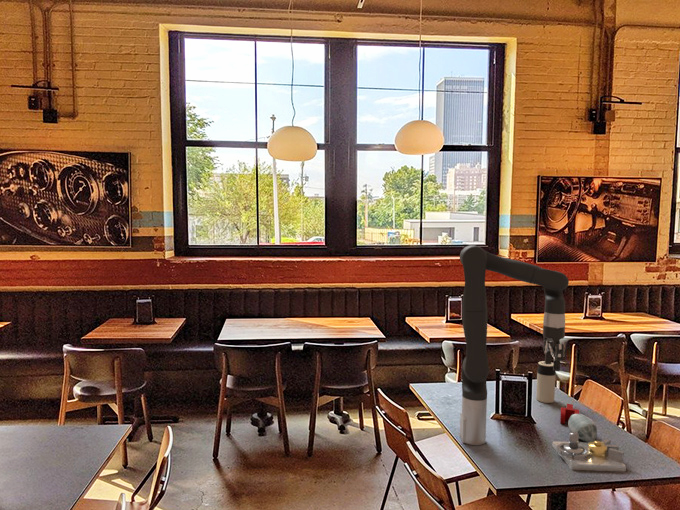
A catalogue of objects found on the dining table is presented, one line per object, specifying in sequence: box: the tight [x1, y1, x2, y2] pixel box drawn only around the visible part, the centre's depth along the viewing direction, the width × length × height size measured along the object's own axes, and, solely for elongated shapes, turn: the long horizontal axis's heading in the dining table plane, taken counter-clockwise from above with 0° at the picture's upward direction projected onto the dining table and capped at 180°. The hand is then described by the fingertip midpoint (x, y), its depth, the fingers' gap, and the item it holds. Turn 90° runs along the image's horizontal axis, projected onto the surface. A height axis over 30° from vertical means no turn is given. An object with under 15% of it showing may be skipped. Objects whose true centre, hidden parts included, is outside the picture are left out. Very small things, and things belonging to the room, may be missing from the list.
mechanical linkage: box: [559, 403, 580, 425], centre depth 221 cm, size 16×7×5 cm, turn 156°
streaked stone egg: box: [567, 413, 598, 443], centre depth 203 cm, size 14×10×10 cm
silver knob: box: [563, 431, 583, 455], centre depth 184 cm, size 6×6×7 cm
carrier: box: [551, 438, 627, 473], centre depth 184 cm, size 21×18×6 cm
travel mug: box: [535, 360, 557, 404], centre depth 243 cm, size 8×8×18 cm
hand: (552, 367), depth 193 cm, fingers open, 8 cm apart
